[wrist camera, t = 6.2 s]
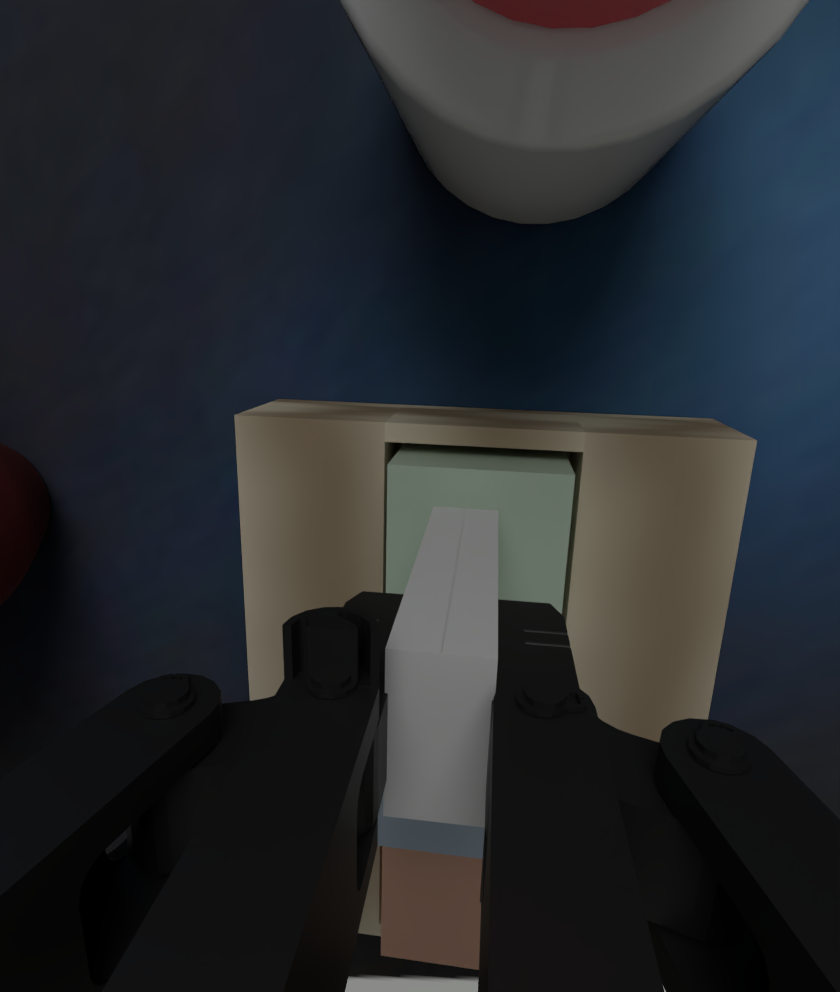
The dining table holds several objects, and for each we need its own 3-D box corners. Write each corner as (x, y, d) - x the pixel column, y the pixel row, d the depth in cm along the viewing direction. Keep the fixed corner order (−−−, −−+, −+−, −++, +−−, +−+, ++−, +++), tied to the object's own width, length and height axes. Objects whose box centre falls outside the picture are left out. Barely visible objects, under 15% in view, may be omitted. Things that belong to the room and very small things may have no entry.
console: (293, 839, 24) (261, 918, 21) (278, 398, 20) (234, 415, 17) (640, 883, 23) (662, 977, 20) (712, 418, 18) (756, 440, 15)
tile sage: (402, 584, 19) (385, 630, 16) (406, 441, 18) (387, 464, 15) (550, 595, 19) (558, 646, 16) (563, 449, 17) (575, 475, 15)
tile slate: (392, 767, 19) (373, 845, 17) (395, 638, 18) (374, 698, 15) (537, 783, 19) (543, 866, 16) (550, 651, 18) (559, 717, 15)
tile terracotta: (396, 872, 22) (380, 955, 19) (399, 767, 21) (382, 838, 18) (523, 889, 22) (526, 976, 19) (533, 782, 20) (537, 858, 18)
